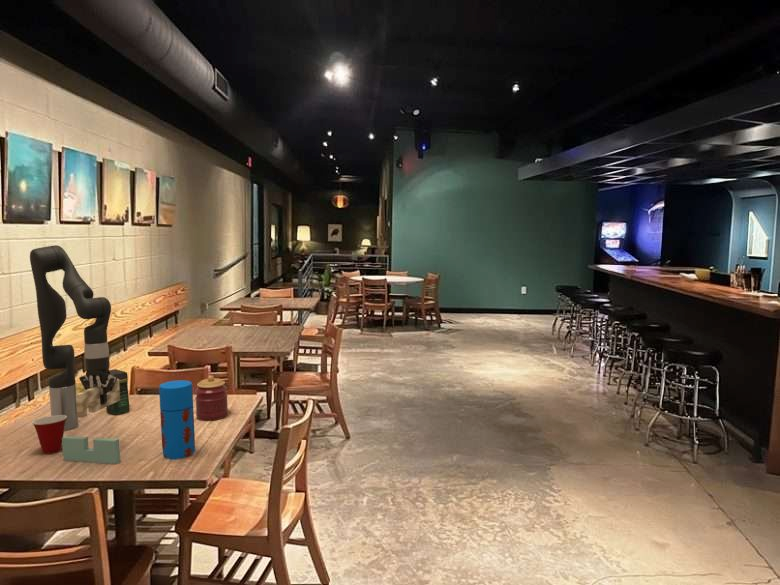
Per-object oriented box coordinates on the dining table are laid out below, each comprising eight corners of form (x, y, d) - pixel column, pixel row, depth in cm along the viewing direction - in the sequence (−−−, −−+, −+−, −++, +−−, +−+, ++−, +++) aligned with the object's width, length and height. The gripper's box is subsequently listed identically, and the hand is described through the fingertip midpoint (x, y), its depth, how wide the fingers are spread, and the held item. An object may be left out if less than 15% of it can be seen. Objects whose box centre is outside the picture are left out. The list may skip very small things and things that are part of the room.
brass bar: (82, 417, 188) (81, 394, 187) (77, 417, 188) (75, 394, 188) (120, 400, 208) (119, 378, 207) (115, 400, 208) (114, 378, 207)
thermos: (157, 453, 200) (153, 384, 198) (185, 445, 208) (182, 378, 205) (171, 462, 193) (168, 390, 190) (200, 453, 201) (197, 384, 198)
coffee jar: (132, 411, 247) (130, 370, 245) (114, 416, 241) (111, 373, 238) (121, 407, 253) (119, 366, 251) (103, 412, 247) (101, 370, 244)
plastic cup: (65, 442, 211) (63, 411, 210) (72, 450, 203) (70, 418, 202) (31, 450, 204) (28, 417, 203) (37, 459, 196) (35, 425, 195)
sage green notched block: (63, 460, 195) (61, 437, 194) (67, 458, 197) (66, 435, 196) (116, 463, 192) (115, 441, 191) (120, 461, 194) (118, 438, 193)
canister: (222, 421, 234) (221, 379, 232) (191, 421, 234) (189, 379, 232) (232, 411, 247) (230, 371, 245) (202, 411, 247) (200, 371, 245)
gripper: (71, 357, 194) (74, 406, 196) (108, 358, 191) (111, 408, 193) (86, 352, 201) (89, 400, 203) (121, 353, 199) (124, 401, 201)
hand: (99, 403), depth 198 cm, fingers closed on brass bar, 2 cm apart
